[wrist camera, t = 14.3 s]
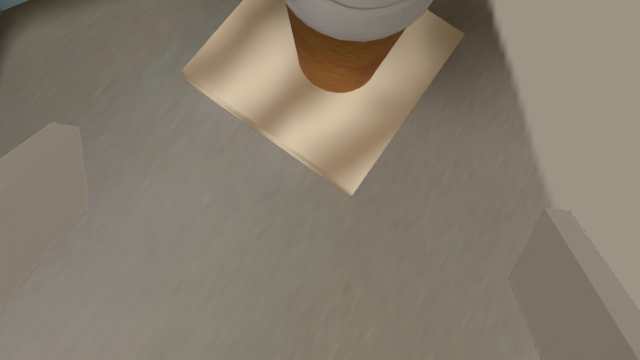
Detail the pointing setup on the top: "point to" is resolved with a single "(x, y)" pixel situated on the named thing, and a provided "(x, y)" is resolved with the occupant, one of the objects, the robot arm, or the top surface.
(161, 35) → the top surface
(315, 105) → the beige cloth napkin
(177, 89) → the top surface
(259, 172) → the top surface
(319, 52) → the disposable coffee cup
